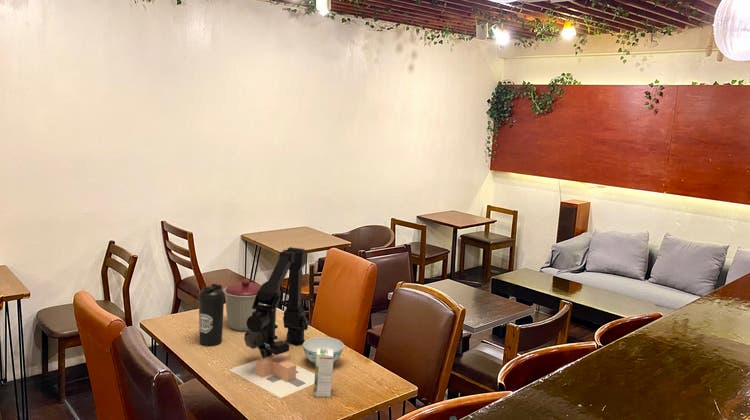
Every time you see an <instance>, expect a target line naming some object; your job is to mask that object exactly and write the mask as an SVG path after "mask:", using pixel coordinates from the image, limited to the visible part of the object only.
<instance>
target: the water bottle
mask: <svg viewBox="0 0 750 420" xmlns="http://www.w3.org/2000/svg"><path fill="white" fill-rule="evenodd" d="M222 286H223V285H221V284H217V283H211V285H208V286H202V287H201V290H200V291H199V293H198V294H197V301H198V324H199V330H198V331H199V332H198V333H199V337H198V338H199V345H201V346H203V347H216V346H219V345H221V344H222V341H223V328H224V327H223V323H224V308H225V307H224V306H225V305H224V304H225V301H226V300H225V293H224V292H223V290H224V289H223V287H222Z"/></svg>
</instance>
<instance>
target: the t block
mask: <svg viewBox="0 0 750 420" xmlns="http://www.w3.org/2000/svg"><path fill="white" fill-rule="evenodd" d="M261 358H262V357H261ZM261 358H259V360H258V359H256V374H257V375H259V376H261V377H262V378H264V377H266V376H269V375H274V376H276V377H278V378H280V379H282V380H284V381H286V382H289V381H291V380H294V379H296V365H297V364H295V363H293V362H291V354H289V353H287V352H284V353H281V354H278V355H275V354H273V355H271V356H268V357H265V358H262V359H261Z"/></svg>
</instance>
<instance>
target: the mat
mask: <svg viewBox="0 0 750 420" xmlns="http://www.w3.org/2000/svg"><path fill="white" fill-rule="evenodd" d="M272 355H273V354H272ZM259 359H262V357H261V358H259ZM259 359H256V360H259ZM256 360H253V361H250V362H247V363H244V364H242V365H241V364H240V365H239V366H236V367H233V368H230V369H229V372H233V374H236V375H238V376H239V377H240V378H243V379H245V380H247V382H248V381H249V382H251V383H252V384H254V385H256V386H258V387H260V388H262V389H263V390H265V391H267V392H269V393H271V394H272V395H274V396H276V397H277V398H279V399H282V398H285V397H286V396H289V395H292V394H294V393H296V392H299V391H301V390H303V389H305V388H308V387H310V386H313V385H314V381H315V373H314V372H311V371H309V370H307V369H305V368H303V367H301V366H299V365H297V364H295V365H296V379H294V380H291V381H289V382H286V381H284V380H282V379H280V378H278V377H276V376H274V375H269V376H266V377H264V378H262V377H261V376H259V375H257V374H256Z"/></svg>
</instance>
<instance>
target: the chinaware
mask: <svg viewBox="0 0 750 420" xmlns="http://www.w3.org/2000/svg"><path fill="white" fill-rule="evenodd" d="M344 346H345V345H344V342H342V340H340V339H337V338H334V337H329V336H317V337H316V336H315V337H311V338H308V339H306V340H305V342H304V343H303V344H302V347H303V351H304V355H305V356H306V359H308V361H310V362H311V363H312V364H314V365H315V366H316V355H317V349H332V350H334V357H333V364H334V363H335V362H336V361H337V360H338V359H339V358H340V356H342V352H343V350H344Z"/></svg>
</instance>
